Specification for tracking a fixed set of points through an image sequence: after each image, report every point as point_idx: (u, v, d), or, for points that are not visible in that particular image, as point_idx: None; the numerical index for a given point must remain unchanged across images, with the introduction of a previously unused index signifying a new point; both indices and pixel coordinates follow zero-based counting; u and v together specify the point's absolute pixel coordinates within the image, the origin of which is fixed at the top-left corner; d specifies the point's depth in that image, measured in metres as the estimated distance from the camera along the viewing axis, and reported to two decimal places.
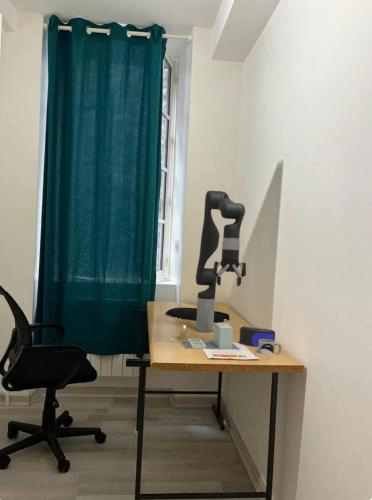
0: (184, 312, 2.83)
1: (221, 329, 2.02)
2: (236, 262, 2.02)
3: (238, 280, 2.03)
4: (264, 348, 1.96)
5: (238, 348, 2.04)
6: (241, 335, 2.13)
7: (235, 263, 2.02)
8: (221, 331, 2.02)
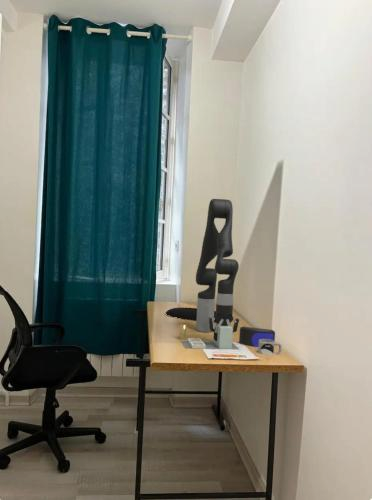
0: (184, 312, 2.83)
1: (221, 329, 2.02)
2: (230, 316, 2.08)
3: None
4: (264, 348, 1.96)
5: (238, 348, 2.04)
6: (241, 335, 2.13)
7: (229, 317, 2.07)
8: (221, 331, 2.02)
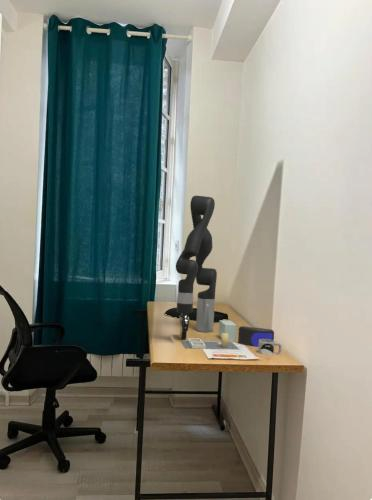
0: None
1: (226, 326, 2.18)
2: (183, 315, 2.14)
3: None
4: (264, 348, 1.96)
5: (238, 348, 2.04)
6: (240, 335, 2.14)
7: (182, 315, 2.15)
8: (226, 328, 2.18)
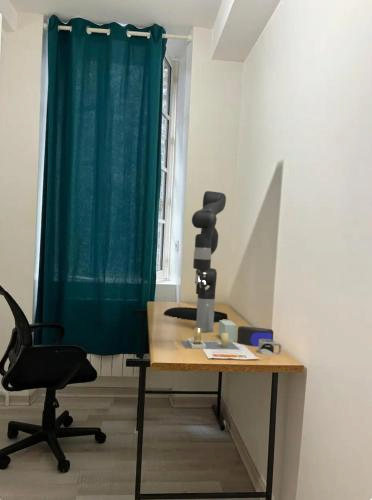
0: (182, 312, 2.83)
1: (226, 326, 2.18)
2: (200, 271, 2.00)
3: (199, 290, 1.98)
4: (264, 348, 1.96)
5: (238, 348, 2.04)
6: (239, 335, 2.14)
7: (199, 272, 2.00)
8: (226, 328, 2.18)
